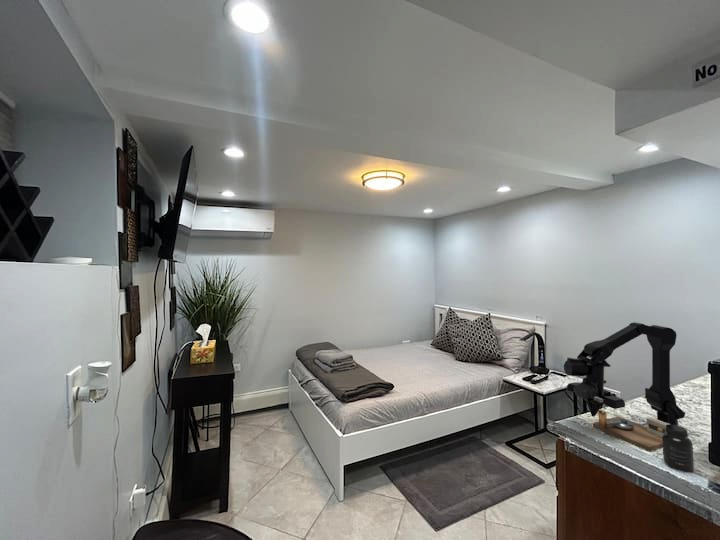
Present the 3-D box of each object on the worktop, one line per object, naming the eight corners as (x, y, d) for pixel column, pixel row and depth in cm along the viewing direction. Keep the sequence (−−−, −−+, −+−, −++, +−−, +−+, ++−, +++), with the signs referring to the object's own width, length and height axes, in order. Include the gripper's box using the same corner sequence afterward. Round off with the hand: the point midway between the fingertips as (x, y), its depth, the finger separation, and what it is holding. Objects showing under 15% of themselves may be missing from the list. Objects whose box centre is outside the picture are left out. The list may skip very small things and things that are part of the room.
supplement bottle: (662, 457, 104) (660, 420, 104) (692, 464, 100) (689, 426, 100) (664, 467, 99) (662, 429, 99) (696, 475, 95) (694, 435, 95)
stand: (618, 419, 130) (617, 404, 130) (676, 442, 112) (676, 424, 112) (592, 426, 125) (592, 410, 125) (650, 451, 107) (649, 432, 107)
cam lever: (621, 420, 125) (620, 405, 125) (639, 428, 118) (638, 413, 119) (592, 423, 124) (591, 408, 124) (608, 432, 117) (607, 415, 117)
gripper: (557, 370, 130) (556, 408, 130) (605, 387, 112) (604, 431, 112) (577, 368, 133) (576, 405, 133) (626, 384, 115) (625, 426, 115)
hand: (593, 416), depth 123 cm, fingers closed
